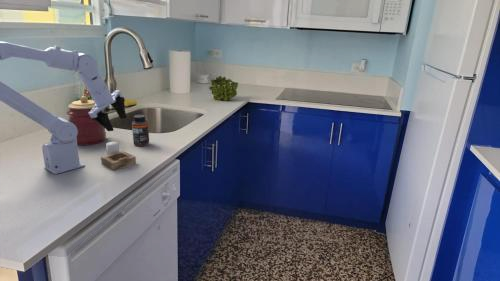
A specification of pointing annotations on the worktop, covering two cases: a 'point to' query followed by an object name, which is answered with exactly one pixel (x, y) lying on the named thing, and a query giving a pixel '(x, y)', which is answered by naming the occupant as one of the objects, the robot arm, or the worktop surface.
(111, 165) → the socket block
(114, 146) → the plug
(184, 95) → the worktop surface
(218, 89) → the green broccoli head
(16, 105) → the robot arm
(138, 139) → the supplement bottle
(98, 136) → the canister
